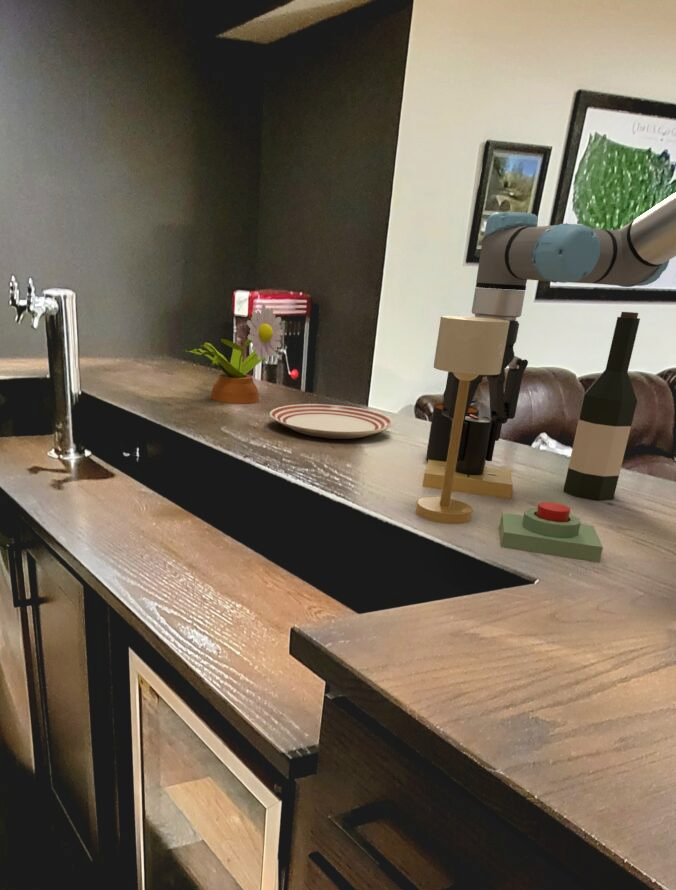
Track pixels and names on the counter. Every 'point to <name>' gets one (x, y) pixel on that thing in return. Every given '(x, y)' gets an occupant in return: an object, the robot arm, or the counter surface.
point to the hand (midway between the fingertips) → (470, 458)
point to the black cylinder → (475, 446)
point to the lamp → (462, 395)
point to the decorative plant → (234, 381)
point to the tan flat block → (471, 480)
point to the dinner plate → (331, 420)
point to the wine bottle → (605, 421)
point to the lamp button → (553, 512)
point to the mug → (442, 433)
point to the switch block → (550, 536)
